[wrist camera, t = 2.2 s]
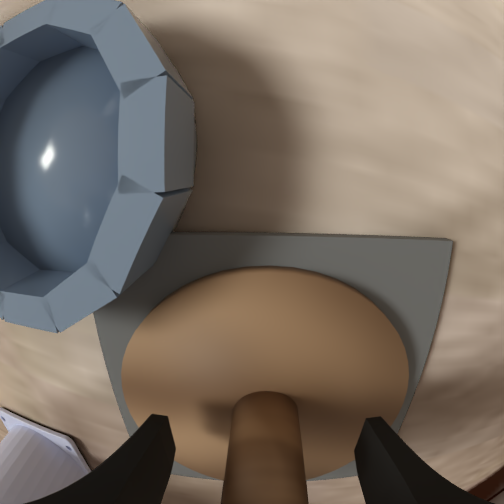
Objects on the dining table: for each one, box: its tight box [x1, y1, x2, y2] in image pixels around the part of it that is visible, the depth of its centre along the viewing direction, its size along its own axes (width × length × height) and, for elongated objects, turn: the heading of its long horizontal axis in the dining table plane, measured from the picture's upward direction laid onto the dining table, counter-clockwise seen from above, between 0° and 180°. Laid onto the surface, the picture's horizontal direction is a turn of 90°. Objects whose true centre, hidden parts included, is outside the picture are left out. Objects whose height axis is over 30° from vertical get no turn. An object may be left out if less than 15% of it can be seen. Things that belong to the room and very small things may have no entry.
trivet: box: [93, 232, 453, 481], centre depth 12 cm, size 14×14×1 cm
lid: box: [121, 265, 409, 504], centre depth 9 cm, size 12×12×6 cm
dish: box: [0, 0, 197, 333], centre depth 8 cm, size 11×11×4 cm
